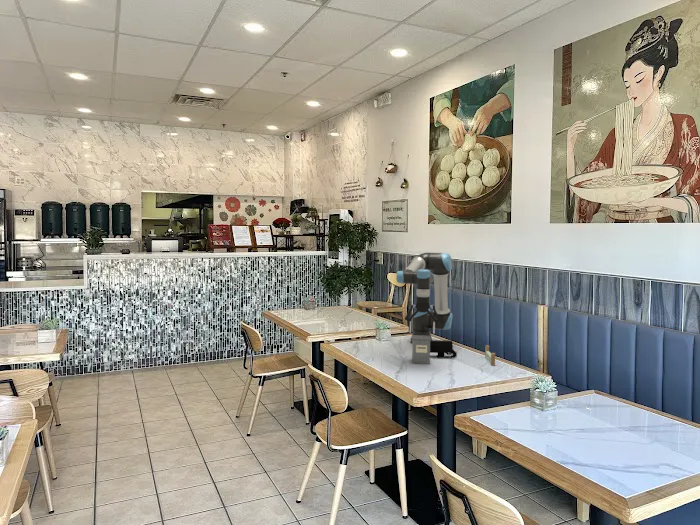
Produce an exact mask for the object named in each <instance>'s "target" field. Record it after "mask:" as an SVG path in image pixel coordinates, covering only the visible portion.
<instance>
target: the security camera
mask: <svg viewBox="0 0 700 525" xmlns="http://www.w3.org/2000/svg"><path fill="white" fill-rule="evenodd" d="M430 354H436V357H435V358H445V354H446V355H448V356H449V355H450V356H451V358H453V359H455V358H456V357H457V356H458V353H457V351H456V350H454V346H453V341H452V340H441V339H440V340H433V339H432V340H431V341H430Z"/></svg>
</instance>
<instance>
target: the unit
mask: <svg viewBox="0 0 700 525" xmlns="http://www.w3.org/2000/svg"><path fill="white" fill-rule="evenodd" d="M411 336H412V340H413V341H412V343H411V344H412V349H411V351H412V353H411V360H412V364H413V365H414V364H415V365H416V364H417V365H420V364H421V365H430V363H431V353H430V341H431V338H430V336H425V335H412V334H411Z"/></svg>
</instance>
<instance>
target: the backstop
mask: <svg viewBox="0 0 700 525" xmlns="http://www.w3.org/2000/svg"><path fill="white" fill-rule="evenodd" d="M484 348H485V350H484V351H485V352H484V357H485V359H486V360H487V362H488V364H490V366H493V367H494V366H496V352H490V345H485V347H484Z"/></svg>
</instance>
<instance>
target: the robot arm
mask: <svg viewBox="0 0 700 525" xmlns="http://www.w3.org/2000/svg"><path fill="white" fill-rule="evenodd" d="M452 269H453V260H452V257H451V255H450V253H446V252H423V253H420V254H418V255H416V256H414V257H413V259H412V260H411V262H410V264H409V265H408V266H407V267H406V268H405V269H404V270H398V271H397V272H396V277H395V278H396V283H397V284H405V285H407V284H408V285H416V297H415V298H416V299H415V300H416V301H415V302H416V303H415V304H413V303H411V304H410V308H409V309H408V311H407V313H406V315H405V317H404V320H405V321H406V322H407V328H408V327H409V334H411V337H410V343H411V344H412V341H413V340H412V335H425V336H430V338H431V340H433V338H432V334H431V329H432V333H433V334H434V335H435V334H436V330H440V331H442V330H443V331H447V330H450V329H451V327H452V322H453V316H454V315H453V312H451V310H450V308H449V304H448V302H449V301H448V300H449V299H448V297H449V296H448V275H449V274H450V272H451V271H452ZM433 283H434V304H430V297H429V296H431V294H430V291H431V288H430V287H431V286H430V285H432V284H433ZM414 308H415V311H414V312H412V311H413V309H414ZM431 309H432V310H431ZM411 313H412V314H411ZM410 314H411V315H410ZM412 322H413V324H412ZM412 328H413V329H412Z"/></svg>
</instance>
